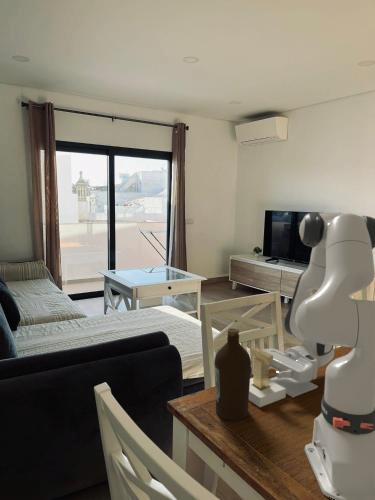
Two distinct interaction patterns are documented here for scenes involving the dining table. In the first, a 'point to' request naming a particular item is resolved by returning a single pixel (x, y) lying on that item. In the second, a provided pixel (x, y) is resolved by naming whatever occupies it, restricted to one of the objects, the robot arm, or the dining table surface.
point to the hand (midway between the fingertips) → (266, 369)
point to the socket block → (266, 393)
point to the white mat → (294, 386)
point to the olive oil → (232, 378)
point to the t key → (261, 368)
